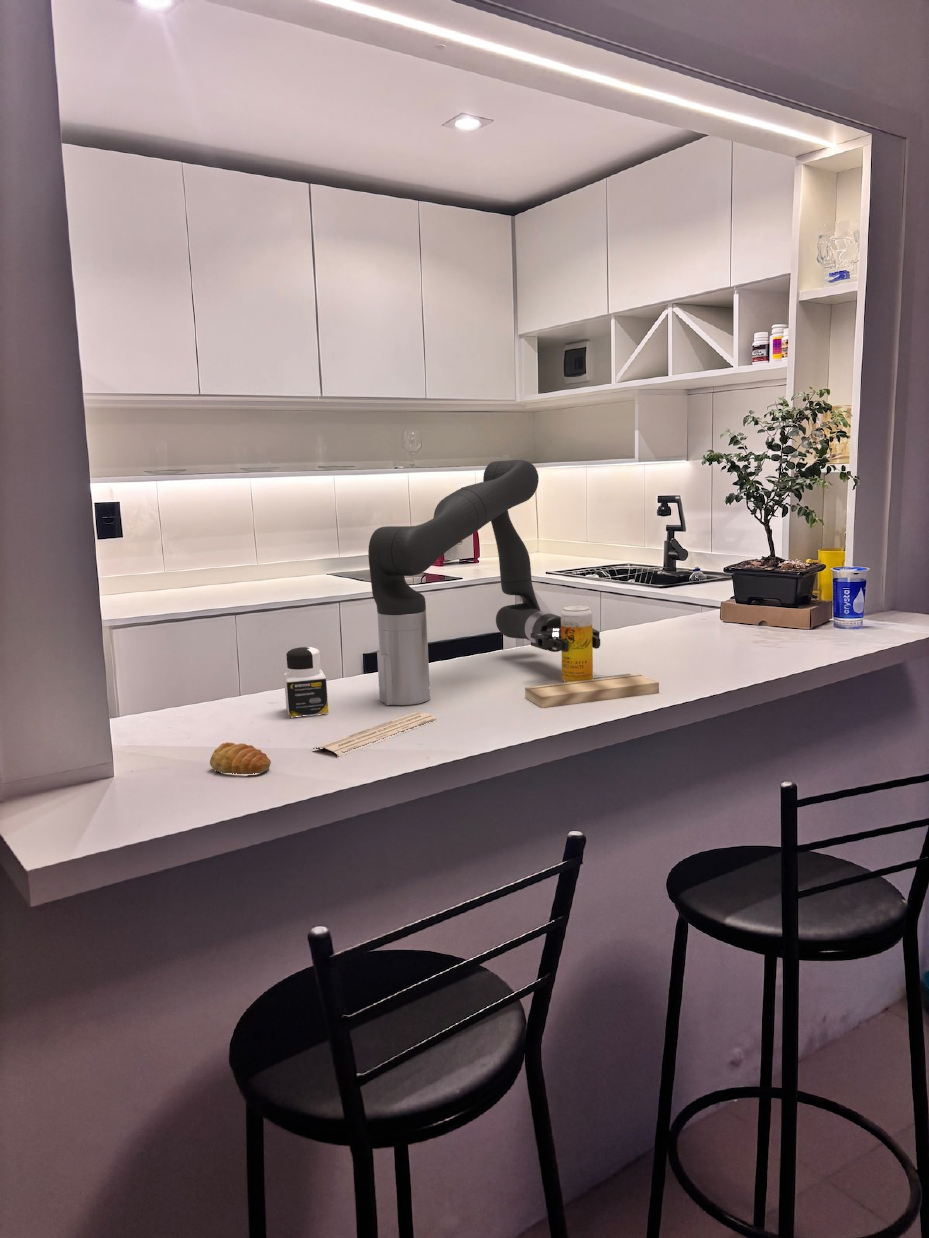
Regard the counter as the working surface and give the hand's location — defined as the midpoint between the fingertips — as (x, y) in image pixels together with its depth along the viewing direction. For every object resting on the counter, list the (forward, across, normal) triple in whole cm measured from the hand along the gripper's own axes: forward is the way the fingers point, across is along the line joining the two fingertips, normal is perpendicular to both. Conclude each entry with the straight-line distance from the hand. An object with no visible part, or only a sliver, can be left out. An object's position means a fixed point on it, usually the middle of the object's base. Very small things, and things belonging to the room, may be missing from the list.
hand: (582, 644), depth 172 cm
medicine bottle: (-7, -53, +9) cm, 54 cm away
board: (+6, -1, +9) cm, 10 cm away
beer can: (-2, 0, +8) cm, 9 cm away
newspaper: (+13, -44, +10) cm, 47 cm away
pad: (-2, +9, +9) cm, 13 cm away
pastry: (+21, -67, +9) cm, 71 cm away
